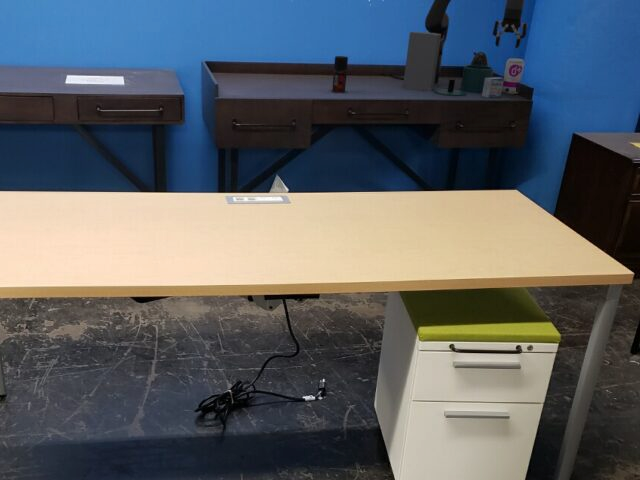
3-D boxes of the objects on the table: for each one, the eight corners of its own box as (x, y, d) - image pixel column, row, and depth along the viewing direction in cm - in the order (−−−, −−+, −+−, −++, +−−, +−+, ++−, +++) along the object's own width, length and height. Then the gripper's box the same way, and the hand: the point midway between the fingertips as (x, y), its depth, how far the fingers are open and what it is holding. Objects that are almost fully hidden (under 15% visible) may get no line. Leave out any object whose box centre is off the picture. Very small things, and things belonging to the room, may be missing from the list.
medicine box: (487, 98, 360) (491, 79, 355) (481, 97, 363) (484, 77, 358) (500, 97, 363) (504, 78, 358) (494, 96, 366) (497, 76, 362)
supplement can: (519, 94, 371) (525, 61, 363) (501, 93, 372) (507, 60, 365) (517, 91, 378) (524, 58, 370) (500, 90, 379) (506, 57, 372)
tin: (454, 90, 375) (458, 66, 369) (470, 87, 383) (474, 64, 378) (479, 95, 367) (483, 70, 361) (494, 92, 375) (499, 67, 370)
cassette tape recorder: (434, 90, 374) (442, 33, 361) (430, 92, 369) (438, 35, 356) (406, 87, 379) (413, 31, 366) (402, 88, 374) (409, 32, 362)
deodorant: (346, 91, 364) (349, 56, 356) (343, 93, 359) (346, 58, 351) (333, 89, 366) (336, 55, 358) (330, 92, 361) (333, 57, 353)
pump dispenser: (477, 81, 399) (482, 50, 391) (490, 85, 391) (496, 53, 383) (461, 82, 395) (466, 50, 388) (474, 86, 387) (479, 53, 380)
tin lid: (428, 93, 366) (430, 78, 363) (445, 90, 375) (447, 75, 372) (454, 98, 357) (457, 83, 354) (471, 95, 366) (474, 80, 363)
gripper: (532, 8, 342) (524, 47, 351) (500, 5, 348) (493, 44, 356) (528, 9, 337) (520, 49, 345) (496, 6, 342) (489, 46, 351)
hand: (506, 47), depth 351 cm, fingers open, 8 cm apart
